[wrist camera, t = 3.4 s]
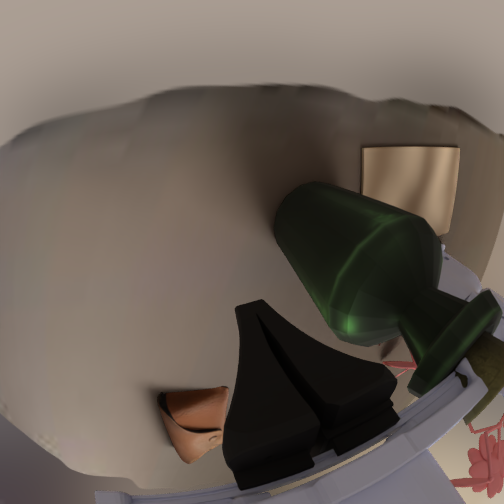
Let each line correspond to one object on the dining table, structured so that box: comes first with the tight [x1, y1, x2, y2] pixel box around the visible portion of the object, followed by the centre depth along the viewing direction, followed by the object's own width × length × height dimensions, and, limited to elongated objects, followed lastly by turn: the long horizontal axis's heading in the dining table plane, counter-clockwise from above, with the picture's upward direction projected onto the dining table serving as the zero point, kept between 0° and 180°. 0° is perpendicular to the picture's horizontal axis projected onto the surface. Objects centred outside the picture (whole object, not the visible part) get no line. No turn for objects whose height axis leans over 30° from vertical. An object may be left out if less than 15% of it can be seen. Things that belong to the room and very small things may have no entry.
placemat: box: [361, 146, 460, 236], centre depth 24 cm, size 16×11×1 cm
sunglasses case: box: [157, 386, 228, 464], centre depth 30 cm, size 18×7×7 cm
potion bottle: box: [274, 182, 504, 425], centre depth 14 cm, size 8×8×18 cm
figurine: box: [379, 343, 504, 498], centre depth 26 cm, size 15×26×35 cm, turn 79°
